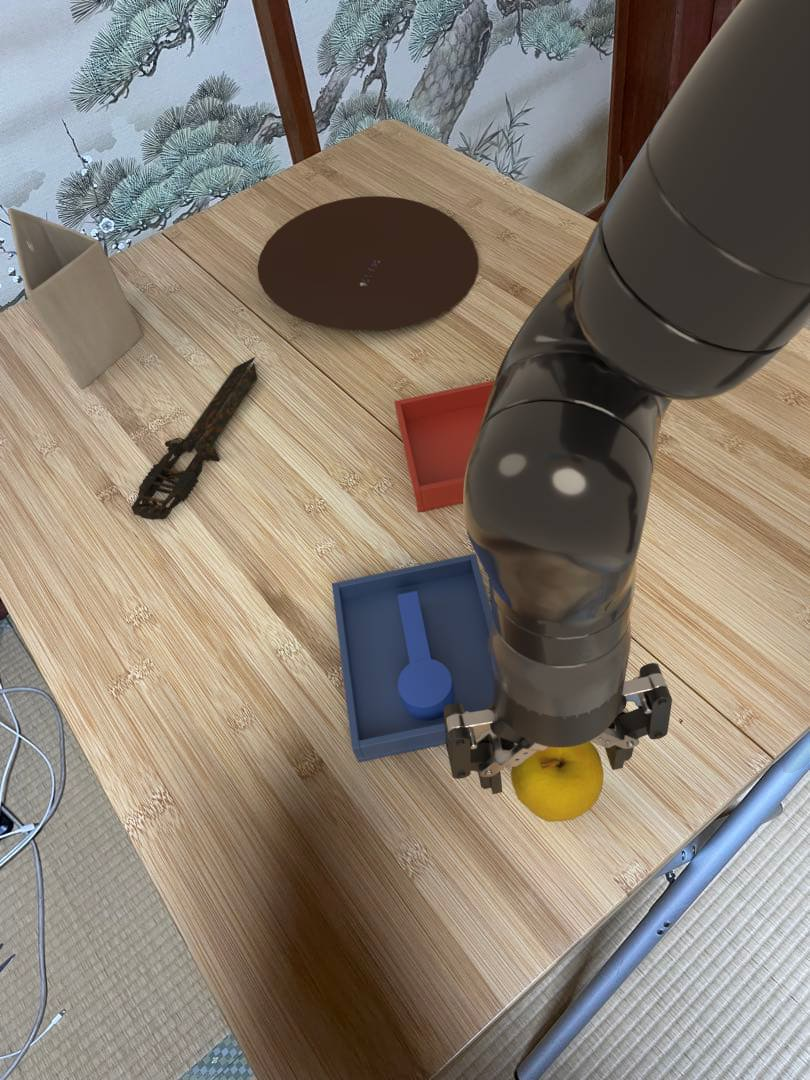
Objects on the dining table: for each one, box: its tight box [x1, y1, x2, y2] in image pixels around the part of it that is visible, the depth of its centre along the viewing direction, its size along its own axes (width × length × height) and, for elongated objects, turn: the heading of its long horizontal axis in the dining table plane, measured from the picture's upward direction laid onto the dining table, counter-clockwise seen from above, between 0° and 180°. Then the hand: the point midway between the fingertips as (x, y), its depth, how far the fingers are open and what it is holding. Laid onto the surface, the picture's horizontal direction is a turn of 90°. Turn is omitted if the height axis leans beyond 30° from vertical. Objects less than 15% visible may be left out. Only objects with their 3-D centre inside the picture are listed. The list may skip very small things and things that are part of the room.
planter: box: [7, 207, 144, 390], centre depth 99 cm, size 16×8×19 cm, turn 11°
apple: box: [510, 741, 604, 823], centre depth 60 cm, size 6×6×8 cm
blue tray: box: [331, 553, 494, 763], centre depth 71 cm, size 13×16×3 cm
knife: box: [131, 356, 258, 521], centre depth 92 cm, size 25×6×1 cm, turn 154°
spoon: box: [397, 591, 455, 720], centre depth 70 cm, size 11×4×2 cm, turn 9°
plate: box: [257, 195, 479, 331], centre depth 107 cm, size 28×28×4 cm
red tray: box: [393, 379, 495, 513], centre depth 85 cm, size 15×13×3 cm
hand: (553, 768), depth 59 cm, fingers open, 8 cm apart
